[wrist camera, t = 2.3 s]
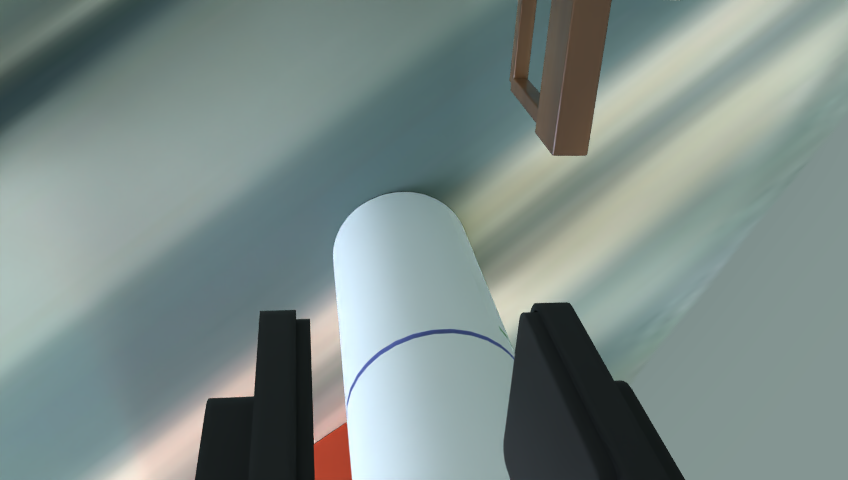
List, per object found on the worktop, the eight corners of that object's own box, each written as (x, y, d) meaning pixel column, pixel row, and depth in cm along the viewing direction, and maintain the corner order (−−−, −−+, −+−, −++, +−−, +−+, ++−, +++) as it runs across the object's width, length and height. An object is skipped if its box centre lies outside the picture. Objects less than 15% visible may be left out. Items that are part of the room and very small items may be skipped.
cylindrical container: (393, 165, 40) (510, 582, 18) (494, 242, 43) (700, 682, 21) (304, 265, 42) (315, 751, 20) (407, 332, 45) (514, 822, 23)
